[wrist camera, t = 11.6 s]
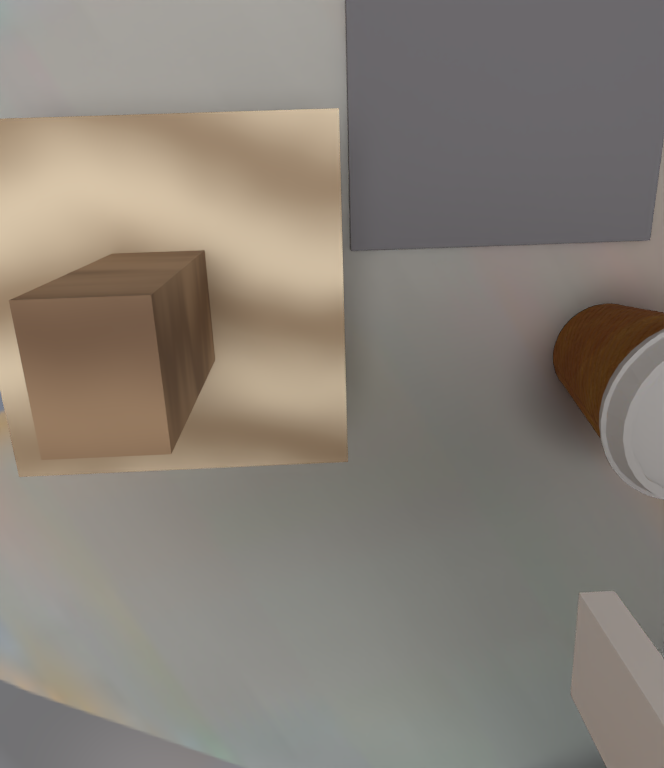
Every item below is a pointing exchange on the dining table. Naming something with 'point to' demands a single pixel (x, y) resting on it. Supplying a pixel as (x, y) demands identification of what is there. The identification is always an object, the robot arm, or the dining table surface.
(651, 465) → the disposable coffee cup
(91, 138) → the oak lid
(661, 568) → the dining table surface
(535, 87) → the rubber mat
